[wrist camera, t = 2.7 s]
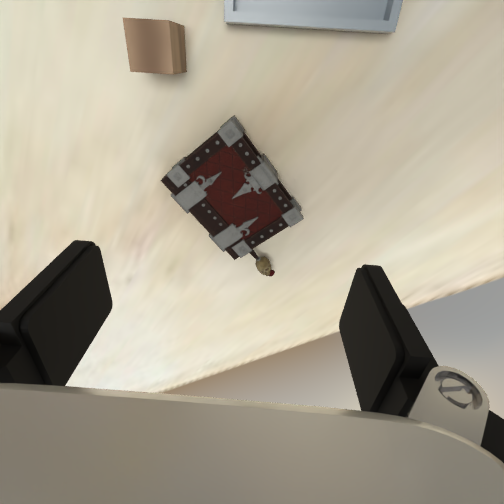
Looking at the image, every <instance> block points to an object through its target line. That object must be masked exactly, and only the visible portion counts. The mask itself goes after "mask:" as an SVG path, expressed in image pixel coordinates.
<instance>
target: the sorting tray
mask: <svg viewBox="0 0 504 504" xmlns="http://www.w3.org/2000/svg"><path fill="white" fill-rule="evenodd" d="M402 2H403V0H224V22H226V23H227V24H238V25H254V26H271V27H287V28H303V29H319V30H335V31H351V32H368V33H384V34H387V33H392V32H395V30H396V26H397V22H398V18H399V14H400V10H401V6H402Z"/></svg>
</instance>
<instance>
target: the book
mask: <svg viewBox="0 0 504 504" xmlns="http://www.w3.org/2000/svg"><path fill="white" fill-rule="evenodd" d="M220 128H221V129H220V130H218V131H217V132H216V133H215V134H214V135H212V136H211V137H210V138H209V139H208V140H206V141H205V142H204V143H203V144H202V145H200V146H199V147H198V148H197V149H196V150H194V151H193V152H192V153H191V154H190V155H188V156H187V157H184V158H183V159H181V160H180V161H179V162H178V163H177V164H175V165H174V166H173V167H172V168H173V169H172V170H171V171H169V172H168V173H167V174H166V175H165V176H164V177H163V179H162V180H161V181H162V182H163V184H164V185H165V186H166V187H167V188H168V189H169V190H170V191H171V192H172V194H171V197H172V198H173V199H174V200H175V201H176V202H177V203H178V204H179V205H180V206H181V207H182V208H183V209H184V210H185V211H186V213H187V214H188V213H189V212H190V213H191V214H192V215H193V216H194V217H195V218H196V219H197V220H198V221H199V222H200V223H201V224H202V225H203V226H204V228H205V229H206V230H207V231H208V232H209V233H210V234H209V237H210V238H211V239H212V240H213V241H214V242H215V243H216V244H217V246H218V247H219V248H220V249H221V250H222V251H223V252H224V251H225V250H226V251H227V252H228V253H229V254H230V255H231V257H232V258H233V259H234V260H235V259H237V258H238V257H240V258H241V257H243V256H245V255H246V254H248V253H250V254H251V255H252V256H253V257H254V258H255V259H256V260H257V261H256V267H257V269H258V270H259V272H260V273H261V274H263V275H266V276H273V275H274V273H275V271H274V270H271V265H270V261H269V260H268V259H267V258H266V257H258V256H257V255H256V253H255V252H254V250H253V248H254V247H256V246H258V245H259V244H261V243H262V242H264V241H266V240H267V239H269V238H270V237H272V236H274V235H275V234H277V233H279V232H280V231H282V230H283V229H285V228H287V227H288V226H290V227H291V226H293V225H295V224H296V223H298V222H300V221H301V220H303V219H304V218H303V215H302V214H301V213H300V211H301V207H300V205H299V204H298V203H297V201H296V200H295V199H294V197H291V196H290V195H289V193H288V192H287V191H286V189H285V188H284V187H283V185H282V184H281V182H280V181H279V180H278V178H277V171H276V169H275V168H274V167H273V165H272V164H271V163H270V161H269V160H268V158H267V157H266V156H265V154H263V155H260V153H259V152H258V151H257V149H256V148H255V147H254V145H253V144H252V142H251V141H250V140H249V138H248V137H247V136H246V134H245V133H244V131H245V129H244V128H243V126H242V125H241V124H240V122H239V121H238V120H237V118H236V117H235V115H234V116H233V117H231V118H230V119H229V120H228V121H227V122H226V123H224V124H223V125H222V126H221V127H220Z"/></svg>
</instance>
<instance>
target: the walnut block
mask: <svg viewBox="0 0 504 504" xmlns="http://www.w3.org/2000/svg"><path fill="white" fill-rule="evenodd" d="M123 23H124V30H125V37H126V44H127V51H128V58H129V65H130V72H144V73H160V74H178V73H183V72H187V70H186V52H185V35H184V26H182V25H180V24H177V23H174V22H172V21H169V20H153V19H136V18H123Z"/></svg>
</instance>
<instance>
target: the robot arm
mask: <svg viewBox="0 0 504 504" xmlns="http://www.w3.org/2000/svg"><path fill="white" fill-rule="evenodd" d="M111 309H112V298H111V294H110V289H109V285H108V281H107V276H106V272H105V268H104V263H103V259H102V255H101V250H100V248H99V246H96V245H95V243H94V242H92V241H80V240H75V241H73V242H72V243H71V244H70V245H69V246H68V247H67V248H66V249H65V250H64V251H63V252H62V253H61V254H59V255H58V256H57V257H56V258H55V259H54V260H53V261H52V262H51V263H50V264H49V265H48V266H47V267H46V268H45V269H44V270H43V271H42V272H40V273H39V274H38V275H37V276H36V277H35V278H34V279H33V280H32V281H31V282H30V283H29V284H28V285H27V286H26V287H25V288H24V289H23V290H21V291H20V292H19V293H18V294H17V295H16V296H15V297H14V298H13V299H12V300H11V301H10V302H9V303H8V304H7V305H6V306H5V307H4V308H2V309H1V310H0V504H504V419H502V418H501V417H499V416H498V415H496V414H495V413H493V412H492V411H490V410H489V399H488V397H487V394H486V393H485V391H484V390H483V389H482V387H481V386H480V385H479V384H478V383H477V382H476V381H475V380H474V379H473V378H471V377H470V376H468V375H467V374H465V373H464V372H462V371H460V370H457V369H455V368H451V367H447V366H438V364H437V362H436V360H435V359H434V357H433V355H432V353H431V352H430V350H429V348H428V346H427V344H426V343H425V341H424V339H423V337H422V336H421V334H420V332H419V330H418V328H417V327H416V325H415V323H414V321H413V320H412V318H411V316H410V314H409V312H408V311H407V309H406V307H405V306H404V305H403V304H402V303H401V301H400V299H399V298H398V296H397V294H396V292H395V290H394V289H393V287H392V285H391V283H390V281H389V280H388V278H387V276H386V274H385V272H384V271H383V269H382V267H381V266H376V265H363V266H362V267H361V268H357V270H356V272H355V275H354V278H353V281H352V285H351V288H350V291H349V294H348V297H347V300H346V303H345V306H344V309H343V312H342V315H341V319H340V323H339V329H340V333H341V337H342V341H343V345H344V348H345V352H346V356H347V359H348V363H349V367H350V370H351V374H352V378H353V381H354V385H355V389H356V392H357V396H358V399H359V403H360V407H361V411H356V410H347V409H337V408H327V407H316V406H306V405H305V406H304V405H293V404H282V403H271V402H259V401H247V400H234V399H223V398H211V397H199V396H186V395H173V394H161V393H148V392H135V391H122V390H109V389H95V388H82V387H69V386H65V385H66V383H67V382H68V380H69V378H70V377H71V375H72V374H73V372H74V370H75V369H76V367H77V365H78V364H79V362H80V360H81V359H82V357H83V356H84V354H85V352H86V351H87V349H88V347H89V346H90V344H91V343H92V341H93V339H94V338H95V336H96V334H97V333H98V331H99V330H100V328H101V326H102V325H103V323H104V321H105V320H106V318H107V317H108V315H109V313H110V312H111Z"/></svg>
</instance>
